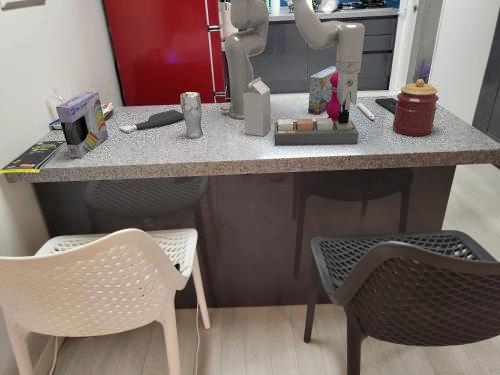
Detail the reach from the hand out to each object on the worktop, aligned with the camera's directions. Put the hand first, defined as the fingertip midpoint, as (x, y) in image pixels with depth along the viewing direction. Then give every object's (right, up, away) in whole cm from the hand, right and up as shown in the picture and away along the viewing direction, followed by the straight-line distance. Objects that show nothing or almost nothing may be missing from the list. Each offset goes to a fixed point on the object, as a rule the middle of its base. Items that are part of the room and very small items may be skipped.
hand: (342, 122), depth 125 cm
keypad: (-9, -5, +3) cm, 11 cm away
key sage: (0, -4, +2) cm, 4 cm away
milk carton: (-28, -2, +11) cm, 30 cm away
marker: (+15, +7, +23) cm, 29 cm away
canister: (+26, -2, +6) cm, 26 cm away
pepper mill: (+1, +3, +16) cm, 17 cm away
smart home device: (+28, +11, +29) cm, 42 cm away
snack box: (0, +12, +33) cm, 35 cm away
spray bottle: (-70, +3, +24) cm, 74 cm away
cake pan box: (-87, -8, +5) cm, 87 cm away
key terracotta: (-13, -3, +2) cm, 13 cm away
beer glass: (-51, -3, +11) cm, 52 cm away
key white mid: (-6, -3, +2) cm, 7 cm away
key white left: (-19, -3, +3) cm, 19 cm away
